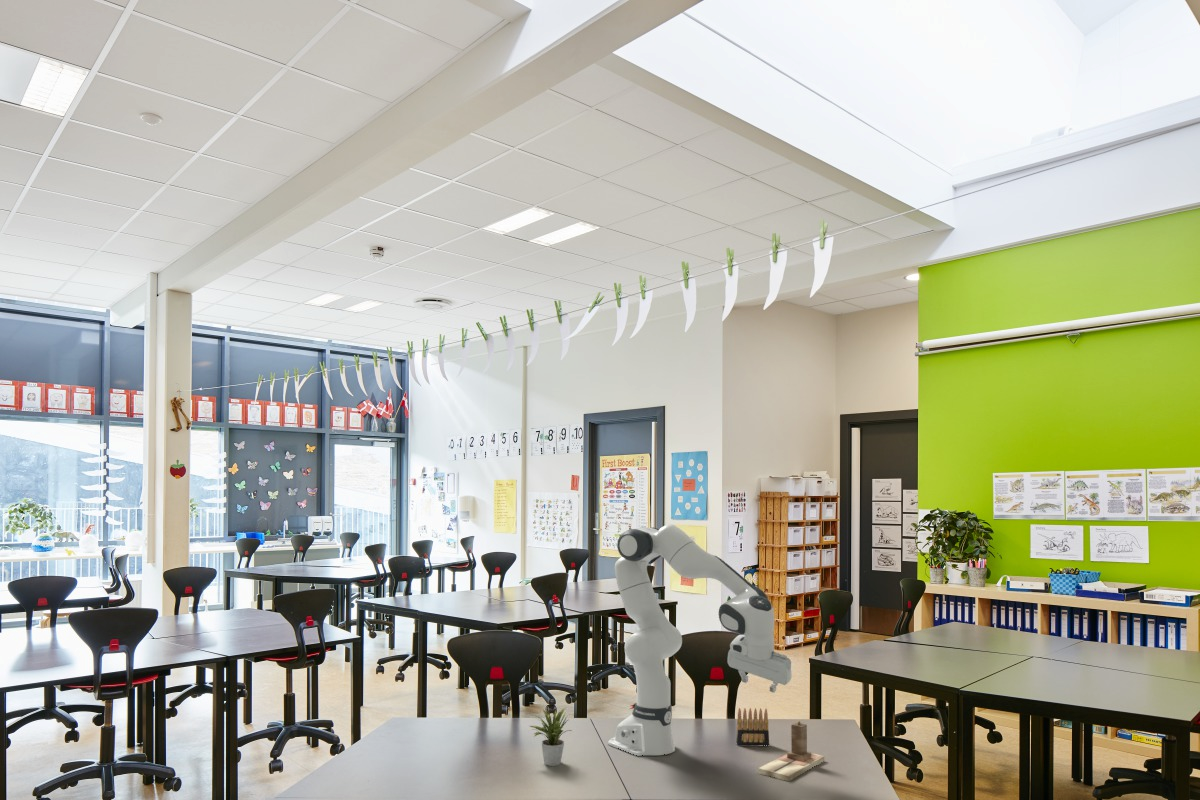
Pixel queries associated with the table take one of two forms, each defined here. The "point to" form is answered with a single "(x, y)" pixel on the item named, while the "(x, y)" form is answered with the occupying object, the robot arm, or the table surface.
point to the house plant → (552, 738)
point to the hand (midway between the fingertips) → (758, 686)
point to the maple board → (789, 767)
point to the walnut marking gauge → (799, 742)
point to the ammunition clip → (752, 728)
